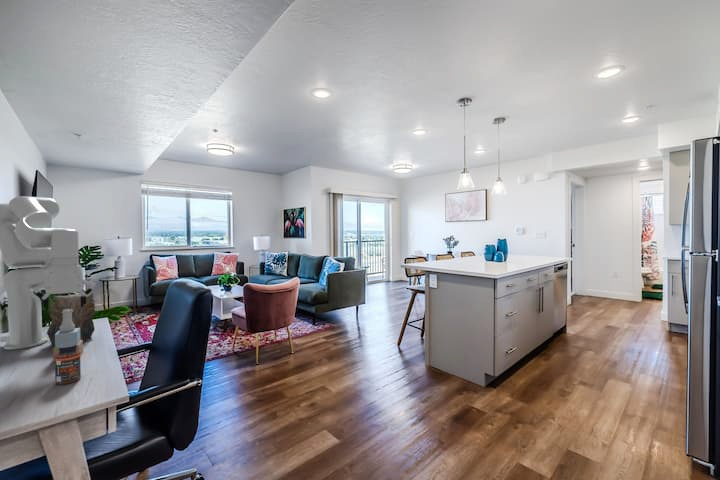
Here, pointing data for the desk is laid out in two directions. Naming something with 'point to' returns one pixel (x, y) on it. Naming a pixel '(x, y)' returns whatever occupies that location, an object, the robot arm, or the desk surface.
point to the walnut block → (79, 347)
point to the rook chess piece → (67, 321)
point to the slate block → (67, 337)
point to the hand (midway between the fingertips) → (65, 307)
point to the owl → (79, 315)
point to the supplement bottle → (67, 364)
